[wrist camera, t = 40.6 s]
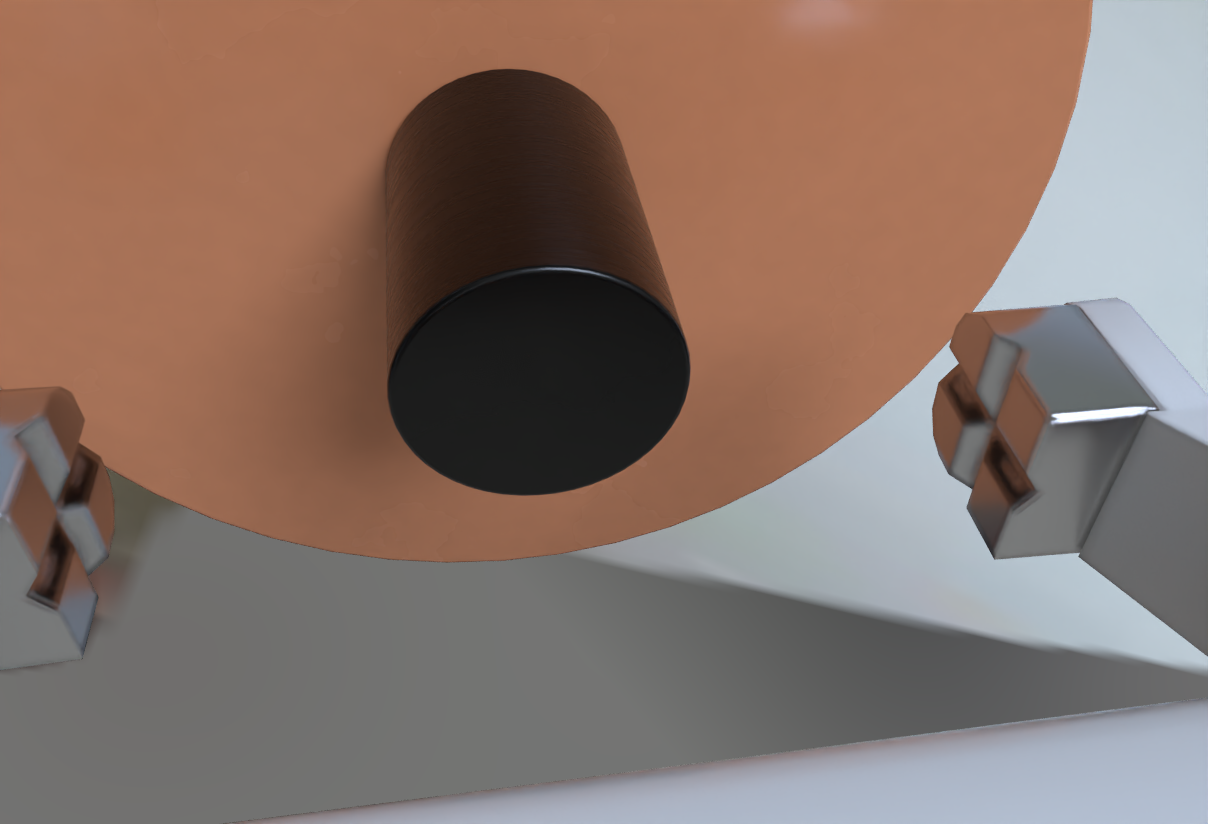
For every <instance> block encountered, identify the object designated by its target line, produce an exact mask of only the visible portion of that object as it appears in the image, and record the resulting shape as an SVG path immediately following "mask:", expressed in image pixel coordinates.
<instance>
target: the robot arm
mask: <svg viewBox="0 0 1208 824" xmlns="http://www.w3.org/2000/svg"><path fill="white" fill-rule="evenodd" d="M949 347H950V349H951V351H952V352H953V354H954V356H955V357H956V359H957V361H958V362H959V364H958V365H957V366H956V367H955V368H953V369H952V370H951V371H950V372H949V373H948V374H947V375H946V376H945V377H944V378H943V379H942V380H941V381H940V382H939V383H938V388H937V392H936V396H935V400H934V404H933V408H932V416H933V436H934V440H935V443H936V447H937V450H938V454H939V456H940V458H941V460H942V462H943V464H944V466H945V468H946V470H947V472H948V474H949V475H951V476H952V477H954V478H955V479H957V480H959V481H960V482H962V483H963V484H965V485H966V486H968V487H970V488H971V489H973V490H972V493H971V496H970V499H969V502H968V505H967V510H968V512H969V513H970V515H971V517H972V519H973V521H974V523H975V525H976V526H977V528H978V530H979V532H980V534H981V536H982V537H983V539H984V541H985V543H986V545H987V547H988V548H989V550H990V552H991V554H992V556H993V558H994V560H995V559H1007V558H1019V557H1031V556H1043V555H1056V554H1068V553H1080V554H1079V556H1078V557H1080V558H1081V559H1082V560H1083V561H1085V562H1086V563H1087V564H1089V565H1090V566H1091V567H1093V568H1094V569H1095V570H1096V571H1098V572H1099V573H1100V574H1102V575H1103V576H1104V577H1105V578H1107V579H1108V580H1109V581H1111V582H1112V583H1113V584H1115V585H1116V586H1117V587H1118V588H1120V589H1121V590H1122V591H1124V592H1125V593H1126V594H1127V595H1129V596H1130V597H1131V598H1133V599H1134V600H1135V601H1137V602H1138V603H1139V604H1140V605H1142V606H1143V607H1144V608H1146V609H1147V610H1148V611H1149V612H1151V613H1152V614H1153V615H1155V616H1156V617H1157V618H1159V619H1160V620H1161V621H1162V622H1164V623H1165V624H1166V625H1168V626H1169V627H1170V628H1172V629H1173V630H1174V631H1175V632H1177V633H1178V634H1179V635H1181V636H1182V637H1183V638H1184V639H1186V640H1187V641H1188V642H1190V643H1191V644H1192V645H1194V646H1195V647H1196V648H1197V649H1199V650H1200V651H1201V652H1203V653H1204V654H1205V655H1206V656H1208V395H1207V393H1206V392H1205V391H1204V390H1203V389H1202V388H1201V386H1200V385H1199V384H1198V383H1197V382H1196V381H1195V379H1194V378H1193V377H1192V376H1191V375H1190V373H1189V372H1188V371H1187V370H1186V369H1185V368H1184V366H1183V365H1182V364H1181V363H1180V362H1179V361H1178V359H1177V358H1176V357H1175V356H1174V355H1173V354H1172V352H1171V351H1170V350H1169V349H1168V348H1167V347H1166V345H1165V344H1164V343H1163V342H1162V341H1161V340H1160V338H1159V337H1158V336H1157V335H1156V334H1155V333H1154V331H1153V330H1152V329H1151V328H1150V327H1149V325H1148V324H1147V323H1146V322H1145V321H1144V320H1143V318H1142V317H1141V316H1140V315H1139V314H1138V313H1137V311H1136V310H1135V309H1134V308H1133V307H1132V306H1131V305H1130V304H1129V303H1127V302H1125V301H1122V300H1120V299H1118V298H1108V299H1099V300H1089V301H1080V302H1070V303H1066V304H1064V305H1052V306H1041V307H1029V308H1018V309H1006V310H995V311H983V312H972V313H965V314H964V316H963V317H962V318H961V320H960V321H959V322H958V324H957V325H956V327H955V330H954V333H953V336H952V340H951V343H950V346H949ZM84 423H85V418H84V416H83V414H82V412H81V410H80V408H79V406H78V404H77V402H76V400H75V397H74V395H73V393H72V392H71V391H69V390H67V389H65V388H63V387H61V386H53V387H37V388H20V389H4V390H0V670H6V669H13V668H21V667H28V666H35V665H43V664H50V663H58V662H65V661H73V660H80V659H83V655H84V651H85V647H86V643H87V639H88V636H89V632H90V628H91V624H92V620H93V616H94V612H95V609H96V605H97V601H98V595H97V593H96V591H95V589H94V587H93V585H92V583H91V581H90V579H89V575H90V574H91V573H92V572H93V571H95V570H96V569H97V568H98V567H99V566H100V565H101V564H102V563H103V562H104V561H105V560H106V559H107V558H108V557H109V553H110V549H111V544H112V540H113V535H114V497H113V492H112V487H111V483H110V478H109V475H108V473H107V470H106V468H105V465H104V463H103V460H102V458H101V456H99V455H98V454H96V453H94V452H93V451H91V450H90V449H88V448H87V447H85V446H84V445H82V444H80V443H79V440H80V436H81V433H82V430H83V426H84ZM225 824H1208V698H1201V699H1192V700H1185V701H1177V702H1169V703H1161V704H1153V705H1145V706H1138V707H1130V708H1123V709H1114V710H1106V711H1098V712H1091V713H1083V714H1075V715H1067V716H1059V717H1052V718H1044V719H1036V720H1028V721H1021V722H1014V723H1005V724H998V725H990V726H982V727H975V728H967V729H959V730H951V731H944V732H936V733H928V734H920V735H913V736H905V737H898V738H890V739H882V740H874V741H867V742H859V743H851V744H843V745H836V746H828V747H820V748H813V749H805V750H797V751H789V752H782V753H774V754H766V755H758V756H751V757H743V758H736V759H727V760H719V761H711V762H704V763H696V764H688V765H680V766H672V767H664V768H656V769H649V770H641V771H633V772H625V773H617V774H609V775H602V776H593V777H585V778H577V779H570V780H562V781H554V782H546V783H538V784H531V785H523V786H515V787H507V788H499V789H491V790H483V791H475V792H468V793H459V794H452V795H444V796H436V797H428V798H420V799H412V800H405V801H397V802H389V803H381V804H373V805H366V806H358V807H350V808H342V809H334V810H327V811H319V812H311V813H303V814H295V815H287V816H280V817H272V818H264V819H257V820H248V821H241V822H233V823H225Z"/></svg>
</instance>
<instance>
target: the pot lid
mask: <svg viewBox="0 0 1208 824" xmlns="http://www.w3.org/2000/svg"><path fill="white" fill-rule="evenodd" d="M1092 3H1093V0H0V389H1V390H4V389H20V388H37V387H53V386H61V387H63V388H65V389H67V390H69V391H71V392H72V393H73V395H74V397H75V400H76V402H77V404H78V406H79V408H80V410H81V412H82V414H83V416H84V418H85V423H84V426H83V430H82V433H81V436H80V440H79V443H80V444H82V445H84V446H85V447H87V448H88V449H90V450H91V451H93V452H94V453H96V454H98V455H99V456H101V458H102V460H103V463H104V465H105V467H107V468H108V469H110V470H112V471H114V472H116V473H118V474H119V475H121V476H123V477H125V478H127V479H128V480H130V481H132V482H134V483H136V484H138V485H139V486H141V487H143V488H145V489H147V490H148V491H150V492H152V493H154V494H156V495H158V496H161V497H163V498H165V499H168V500H170V501H172V502H175V503H177V504H179V505H182V506H184V507H186V508H189V509H191V510H193V511H196V512H198V513H200V514H203V515H205V516H207V517H209V518H212V519H215V520H218V521H221V522H224V523H227V524H230V525H233V526H236V527H239V528H242V529H245V530H248V531H252V532H255V533H258V534H261V535H264V536H267V537H270V538H274V539H278V540H283V541H287V542H291V543H296V544H301V545H304V546H309V547H313V548H318V549H322V550H327V551H331V552H339V553H346V554H353V555H360V556H368V557H375V558H382V559H392V560H410V561H429V562H430V561H431V562H474V561H504V560H513V559H521V558H529V557H538V556H547V555H556V554H562V553H567V552H572V551H577V550H582V549H587V548H592V547H597V546H602V545H607V544H612V543H616V542H620V541H623V540H627V539H630V538H634V537H637V536H641V535H644V534H647V533H651V532H654V531H658V530H661V529H665V528H668V527H671V526H674V525H676V524H679V523H681V522H684V521H687V520H689V519H692V518H694V517H697V516H700V515H702V514H705V513H707V512H710V511H713V510H715V509H718V508H720V507H723V506H725V505H727V504H729V503H731V502H733V501H735V500H737V499H739V498H741V497H743V496H745V495H747V494H749V493H752V492H754V491H756V490H758V489H760V488H762V487H764V486H766V485H768V484H770V483H772V482H774V481H776V480H777V479H779V478H781V477H782V476H784V475H786V474H787V473H789V472H791V471H792V470H794V469H796V468H797V467H799V466H801V465H802V464H804V463H806V462H807V461H809V460H811V459H812V458H814V457H816V456H817V455H819V454H821V453H822V452H824V451H825V450H826V449H828V448H829V447H830V446H832V445H833V444H834V443H836V442H837V441H839V440H840V439H841V438H843V437H844V436H845V435H847V434H848V433H850V432H851V431H852V430H854V429H855V428H856V427H858V426H859V425H861V424H862V423H863V422H865V421H866V420H867V419H869V418H870V417H871V416H872V415H873V414H874V413H876V412H877V411H878V410H879V409H880V408H881V407H882V406H884V405H885V404H886V403H887V402H888V401H889V400H890V399H891V398H893V397H894V396H895V395H896V394H897V393H898V392H899V391H901V390H902V389H903V388H904V387H905V386H906V385H907V384H908V383H910V382H911V381H912V380H913V379H914V378H915V377H916V376H917V375H918V374H919V373H920V372H921V370H922V369H923V368H924V367H925V366H926V365H927V364H928V363H929V362H930V361H931V360H932V359H933V358H934V357H935V355H936V354H937V353H938V352H939V351H940V350H941V349H942V348H943V347H944V346H945V345H946V344H947V343H948V342H949V341H950V339H951V338H952V336H953V333H954V330H955V327H956V325H957V324H958V322H959V321H960V320H961V318H962V317H963V316H964V314H965V313H972V312H973V310H974V309H975V308H976V306H977V305H978V304H979V302H980V301H981V300H982V298H983V297H984V296H985V295H986V293H987V292H988V291H989V289H990V288H991V287H992V285H993V284H994V282H995V280H996V279H997V277H998V276H999V274H1000V272H1001V271H1002V269H1003V267H1004V266H1005V264H1006V262H1007V261H1008V259H1009V257H1010V256H1011V254H1012V252H1013V251H1014V249H1015V248H1016V246H1017V244H1018V243H1019V241H1020V239H1021V238H1022V236H1023V234H1024V233H1025V231H1026V229H1027V227H1028V225H1029V223H1030V221H1031V219H1032V216H1033V214H1034V212H1035V210H1036V208H1037V206H1038V203H1039V201H1040V199H1041V197H1042V195H1043V193H1044V191H1045V188H1046V186H1047V184H1048V182H1049V180H1050V178H1051V176H1052V173H1053V171H1054V169H1055V166H1056V163H1057V160H1058V157H1059V154H1060V151H1061V148H1062V145H1063V142H1064V139H1065V136H1066V133H1067V130H1068V127H1069V124H1070V121H1071V118H1072V115H1073V112H1074V108H1075V105H1076V102H1077V97H1078V92H1079V87H1080V82H1081V77H1082V72H1083V67H1084V62H1085V57H1086V52H1087V47H1088V42H1089V37H1090V32H1091V18H1092Z"/></svg>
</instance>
